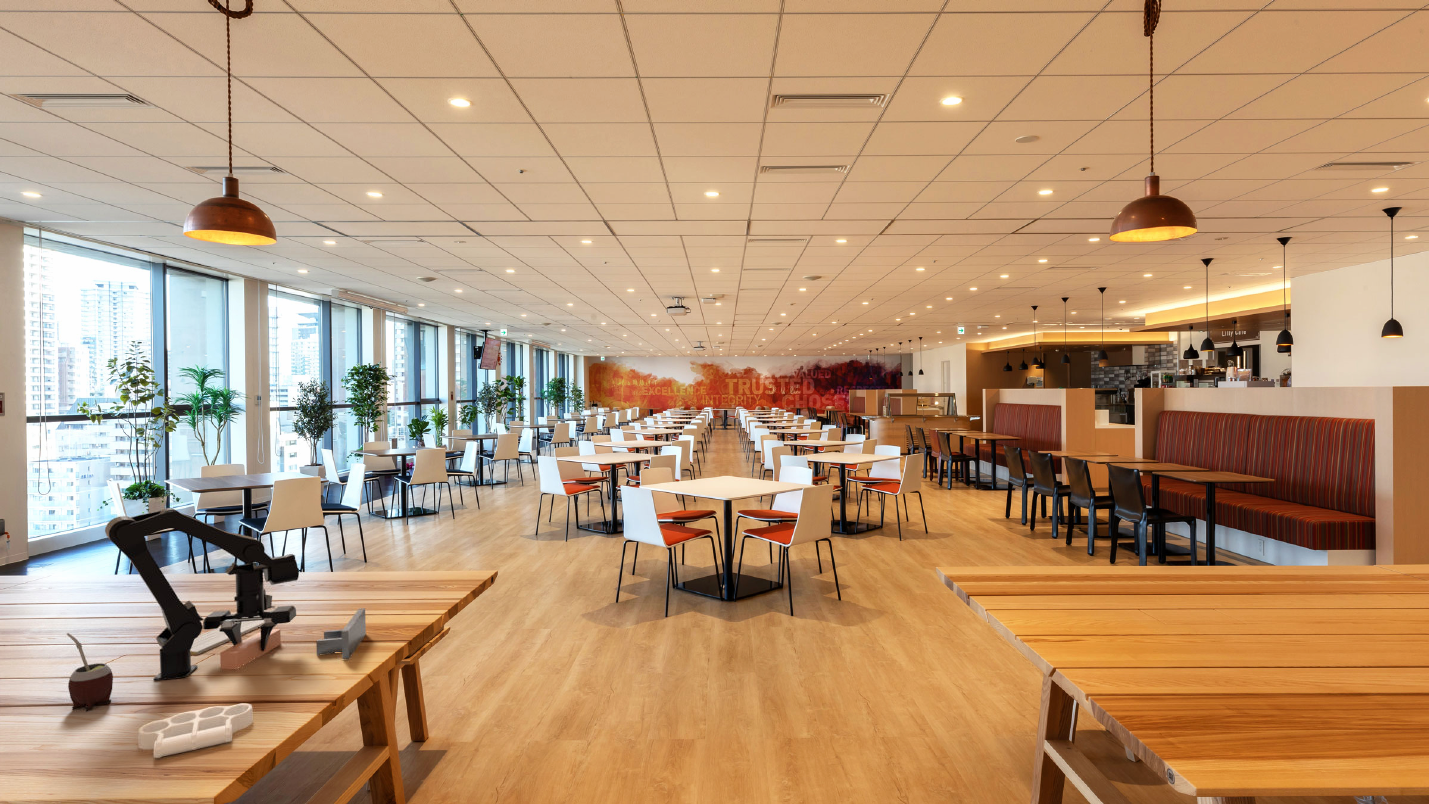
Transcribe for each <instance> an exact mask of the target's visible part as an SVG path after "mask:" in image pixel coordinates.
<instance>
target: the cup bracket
mask: <svg viewBox="0 0 1429 804" xmlns="http://www.w3.org/2000/svg"><path fill="white" fill-rule="evenodd" d="M366 630H367V628H366V608H363V607H362V608H358V609H357V611H356V612H355V614H354V615H353V616H352V617H351V618H350V620H349V621H348V623H346V625H345V626H344V627H343V629H342V628H341V629H331V630H330V629H329V630H324V631H323V639H320V638H319V639H317V640H316V643H315V645H316V646H315V647H316V656H321V655H320V654H324V655H332V654H331V653H335V652H342V653H341V659H349V658H350V659H351V657H352V656H353V655H354V653H355V652H356V650H357V648H358V647H359V645H360V644H361V643H362V641H363V639H364V638H365V636H366V633H367V631H366ZM353 652H354V653H353ZM335 654H336V653H335ZM351 655H352V656H351ZM350 659H349V660H350Z"/></svg>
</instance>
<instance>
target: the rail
mask: <svg viewBox="0 0 1429 804" xmlns="http://www.w3.org/2000/svg"><path fill="white" fill-rule="evenodd" d="M281 644H282V641H281V629H279V628H278V629H277V628H276V629H275V628H273V629H272V631H271V633H270V636H269V639H268V642H267V645H266V648H265V650H264V651H262V650H261V631H259V632H258V633H255V634H252V636H250V637H248V638H245V639H244V640H242V642H240V643H238V644H236V645H233V646H230V647H229V648H227V649H225V650H222V651H221V652H219V653H220V654H219V655H220V656H219V657H220V670H238V669H239V668H238V667H240V666H242V665H243V664H245V665H246V663H247V664H248V662H249V661H250V662H252V661H254V660H255V659H254V658H256V659H258V658H259V657H261V656H263V655H264V654H266V653H268V652H269V651H271V650H273V649H275V648H276V647H278V645H279V646H280V645H281ZM262 654H263V655H262ZM260 655H261V656H260ZM257 657H258V658H257ZM253 659H254V660H253ZM251 660H252V661H251ZM250 662H249V663H250ZM243 666H244V665H243ZM243 666H242V667H243ZM237 668H238V669H237ZM240 668H241V667H240Z"/></svg>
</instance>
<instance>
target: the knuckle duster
mask: <svg viewBox="0 0 1429 804" xmlns="http://www.w3.org/2000/svg"><path fill="white" fill-rule="evenodd" d="M253 717H254V714H253V705H252V704H250V703H243V702H241V703H238V704H234V705H217V706H209V707H205V708H202V709H197V710H191V711H190V710H189V711H185V712H180V713H178V714H175V715H172V716H170V717H167V718H164V719H158V720H153V721H151V722H150V721H149V722H148V723H146V724H143V725H142V726H140V728H139V729H138V731H137V739H138V740H137V741H138V749H141V750H153V758H154V759H161V758H162V757H165V756H171V755H176V754H180V753H185V752H190V751H196V750H198V749H202V748H203V749H204V748H207V747H213V746H217V745H221V744H226V743H231V742H232V741H233V734H234V733H236V732H237V731H240V730H243V729H245V728H247V727H249V726H250V725H252V724H253V722H254V718H253Z"/></svg>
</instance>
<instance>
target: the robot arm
mask: <svg viewBox="0 0 1429 804" xmlns="http://www.w3.org/2000/svg"><path fill="white" fill-rule="evenodd" d="M168 528H170V529H173V530H176V531H179V532H181V533H183V534H186V535H189V536H191V537H194V538H195V539H198V540H201V541H204V542H206V543H209V544H211V545H213V546H215V547H218V548H220V549H222V550H223V551H225V553H226V552H227V553H228V554H230V555H232V557H234V558H236V559H237V560H239V561H240V562H242V563H244V564H239V565H237V563H236V562H232V563H231V565H230V566H229V567H227V569H225V573H226V574H227V575H228V576H233V575H235V596H234V602H236V613H231V611H230V610H218V611H217V610H216V611H215V610H214V611H212V612H211V613H210V614H209V615H207V616H206V617H205V618H203V617H202V616H201V615H200V614H199V613H198V611H197V607H196V606H195V604H193V603H192V601H191V600H187V601H186V602H185V603H183V601H181V600H180V599H179V597H178V595H177V594H176V592H175V590H174V589H173V588H172V585H170V582H169V581H168V580H167V578H166V576H165V575H164V572H162V570H161V568H160V567H159V565H158V563H157V562H156V560H155V559H154V558H153V556H152V554H151V552H150V551H149V547H148V543H147V538H146V537H147V536H149V535H153V534H156V533H158V532H160V531H161V532H162V530H165V529H168ZM104 529H105V530H104V533H105V535H106V537H107V538H108V539H109V541H110V542H112V544H114V546H115V547H116V548H118V549H119V551H121V552H122V553H123V554H124V555H125V556H126V557H127V558H128V560H130V562H131V564H132V566H133V567H134V568H135V570H136V572H137V573H138V574H139V576H140V578H141V580H142V581H143V583H145V584H144V585H146V587H147V588H148V590H149V592H150V593H151V595H152V596H153V598H154V599H155V601H156V602H157V604H158V605H159V607H160V610H161V613H162V617H163V620H164V623H165V626H166V627H165V628H164V629H163V630H162V631H161V632H160V633H159V635H157V636H156V638H155V640H156V642H157V644H158V645H159V646H160V647H161V648H160V649H159V667H160V668H159V669H160V672H159V673H158V674H157V675H155V676H154V677H153V681H159V680H171V679H173V680H174V679H181V678H182V679H183V678H186V677H187V676H189V675H190V674H191V673H192V672H193V671H194V670H196V669H197V668H198V664H191V662H192V659H191V658H192V657H191V656H192V655H191V653H190V649H191V647H192V645H193V642H194V639H196V638H197V637H198V636H199V635H201V633H202V630H206V631H207V630H214V629H217V628H219V627H221V628H220V629H219V631H220V632H224V633H225V634H226V635H227V637H228V638H229V639H230V642H231V643H232V645H233V646H234V645H236V644H238V643H240V642H242V641H243V640H242V635H241V623H242V622H244V621H256V620H264V622H265V623H264V624H263V625H262V626H261V627H260V632H261V650H262V651H264V650H265V648H266V645H267V642H268V639H269V636H270V633H271V631H272V629H274V628H275V627H276V626H278V625H279V624H287V623H290V622H291V621H292V620H293V619H294V618H296V616H297V609H296V607H295V606H294V605H284V606H283V605H282V606H277V607H275V608H276V609H274V610H269V609H272V608H271V606H273V605H272V603H273V595H270V594H267V593H266V588H264V581H265V582H267V583H268V582H269V584H270V586H274V585H280V584H284V583H292V582H296V581H298V580H299V577H300V576H299V575H300V570H299V566H298V563H297V560H296V555H295V554H293V553H290V554H285V555H281V556H275V557H272V556H270V555H268V554H267V553H266V552H265V550H266V548H265V545H264V543H263V542H261V541H260V540H259V539H256V538H255V537H253V536H249V535H244V534H240V533H234V532H231V531H230V532H229V531H225V530H222V529H220V528H217V526H216V527H215V526H213V525H210V524H208V523H206V522H203V521H201V520H198V519H195V518H193V517H191V516H189V515H187V514H184V513H181V512H179V510H177V509H174V508H171V507H165V508H164V509H162V510H161V509H160V510H157V511H153V512H148V513H143V514H137V515H135V516H131V517H130V516H125V515H121V516H116V517H114V518H112V519H110V520H109V521H108V523H107V524H106V526H105V528H104ZM254 563H257V564H259V565H253V564H254ZM268 610H269V611H270V612H264V611H268ZM255 616H260V617H255ZM243 617H248V618H243Z"/></svg>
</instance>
